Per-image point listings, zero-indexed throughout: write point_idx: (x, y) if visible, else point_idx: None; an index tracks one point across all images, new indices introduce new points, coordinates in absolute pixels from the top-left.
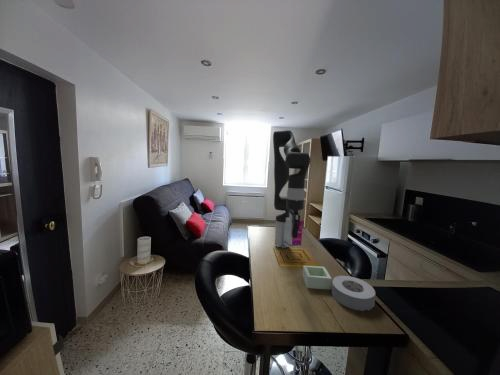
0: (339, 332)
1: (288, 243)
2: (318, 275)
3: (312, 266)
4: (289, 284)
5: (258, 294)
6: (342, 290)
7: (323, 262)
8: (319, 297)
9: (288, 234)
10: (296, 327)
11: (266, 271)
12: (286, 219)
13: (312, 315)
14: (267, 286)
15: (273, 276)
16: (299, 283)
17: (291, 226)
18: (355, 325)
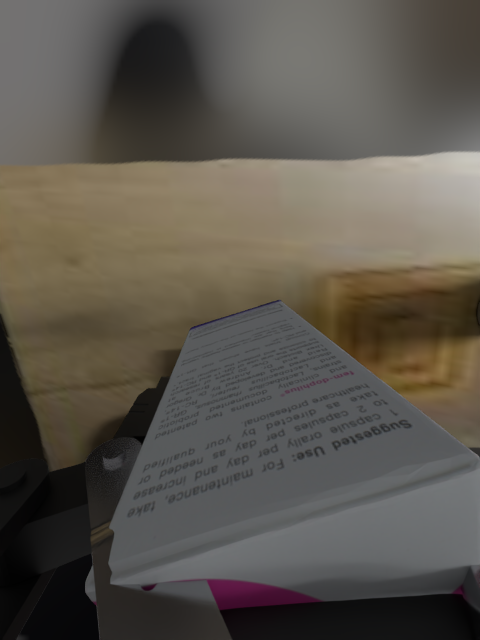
0: (22, 383)
1: (209, 324)
2: None
3: None
4: (204, 295)
5: (127, 175)
6: None
7: None
8: (150, 372)
9: (219, 347)
10: (5, 284)
11: (283, 216)
12: (395, 439)
13: (65, 335)
14: (181, 213)
15: (249, 243)
16: None
17: (141, 449)
18: (57, 423)
